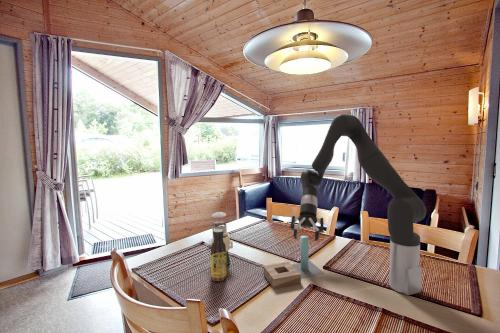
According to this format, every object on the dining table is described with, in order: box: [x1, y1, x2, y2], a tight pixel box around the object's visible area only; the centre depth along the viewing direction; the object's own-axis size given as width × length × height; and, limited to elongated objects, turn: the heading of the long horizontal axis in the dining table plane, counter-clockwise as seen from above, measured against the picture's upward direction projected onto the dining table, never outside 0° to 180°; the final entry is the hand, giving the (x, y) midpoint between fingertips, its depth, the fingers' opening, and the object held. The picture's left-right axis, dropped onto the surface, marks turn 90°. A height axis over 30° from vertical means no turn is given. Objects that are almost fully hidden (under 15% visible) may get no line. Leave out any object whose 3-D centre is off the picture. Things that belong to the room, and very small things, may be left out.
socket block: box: [262, 261, 302, 290], centre depth 107 cm, size 11×11×4 cm
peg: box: [299, 235, 309, 271], centre depth 113 cm, size 3×3×14 cm
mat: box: [291, 260, 326, 280], centre depth 114 cm, size 12×12×1 cm
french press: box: [208, 194, 228, 241], centre depth 151 cm, size 10×12×25 cm
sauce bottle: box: [210, 229, 227, 282], centre depth 108 cm, size 7×6×20 cm
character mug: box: [211, 233, 234, 266], centre depth 121 cm, size 11×7×13 cm, turn 63°
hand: (305, 239), depth 117 cm, fingers open, 8 cm apart
